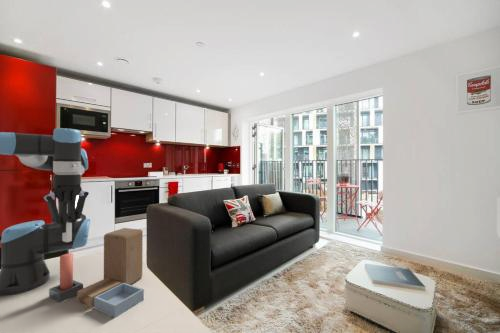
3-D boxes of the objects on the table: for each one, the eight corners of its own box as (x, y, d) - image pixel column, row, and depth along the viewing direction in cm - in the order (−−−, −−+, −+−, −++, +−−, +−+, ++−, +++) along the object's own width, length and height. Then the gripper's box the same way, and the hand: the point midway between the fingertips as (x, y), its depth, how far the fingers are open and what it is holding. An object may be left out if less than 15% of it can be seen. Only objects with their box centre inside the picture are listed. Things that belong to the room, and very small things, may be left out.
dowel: (57, 296, 79) (57, 256, 79) (69, 291, 82) (69, 252, 82) (63, 298, 78) (63, 258, 78) (75, 293, 81) (75, 254, 81)
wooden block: (123, 290, 83) (124, 236, 83) (102, 286, 86) (102, 233, 86) (143, 277, 93) (143, 229, 93) (123, 274, 95) (123, 227, 95)
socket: (49, 297, 78) (49, 288, 78) (71, 287, 85) (71, 279, 85) (60, 302, 75) (60, 293, 75) (83, 292, 82) (83, 283, 82)
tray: (94, 308, 72) (94, 297, 72) (123, 292, 82) (123, 282, 82) (115, 317, 68) (115, 305, 68) (143, 299, 77) (143, 289, 77)
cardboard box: (77, 302, 76) (77, 291, 76) (106, 288, 85) (106, 277, 85) (91, 309, 73) (91, 296, 73) (121, 293, 82) (121, 282, 82)
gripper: (50, 175, 71) (50, 249, 72) (93, 173, 83) (93, 237, 83) (37, 173, 74) (37, 245, 75) (81, 172, 86) (81, 233, 86)
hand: (67, 240), depth 79 cm, fingers closed
